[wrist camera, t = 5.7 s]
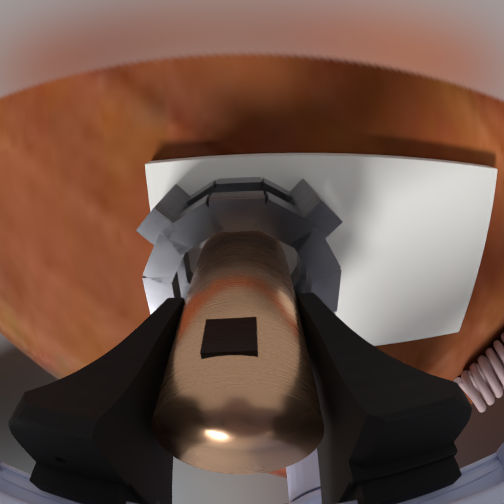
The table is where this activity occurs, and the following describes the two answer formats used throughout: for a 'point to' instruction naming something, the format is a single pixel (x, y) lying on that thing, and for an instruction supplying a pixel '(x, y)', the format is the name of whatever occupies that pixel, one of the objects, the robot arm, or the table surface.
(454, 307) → the base board
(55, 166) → the table surface
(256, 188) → the collar stand
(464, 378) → the coil
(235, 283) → the tube
